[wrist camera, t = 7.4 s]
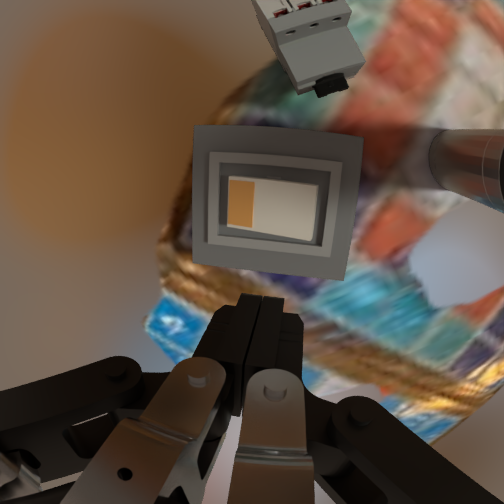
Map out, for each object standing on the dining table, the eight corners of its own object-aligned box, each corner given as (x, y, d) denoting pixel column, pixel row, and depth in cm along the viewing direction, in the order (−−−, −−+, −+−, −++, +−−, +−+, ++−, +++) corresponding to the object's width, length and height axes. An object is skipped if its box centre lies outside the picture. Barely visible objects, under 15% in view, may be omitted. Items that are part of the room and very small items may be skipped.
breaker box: (354, 138, 35) (365, 137, 28) (338, 262, 41) (344, 283, 35) (209, 127, 37) (191, 124, 31) (206, 247, 44) (190, 265, 38)
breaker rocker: (318, 185, 30) (316, 186, 29) (312, 238, 32) (310, 241, 31) (233, 175, 33) (228, 176, 32) (231, 224, 35) (226, 226, 34)
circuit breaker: (303, 111, 35) (304, 89, 21) (261, 27, 31) (239, -25, 17) (353, 94, 32) (383, 67, 19) (309, 11, 29) (310, -45, 15)
